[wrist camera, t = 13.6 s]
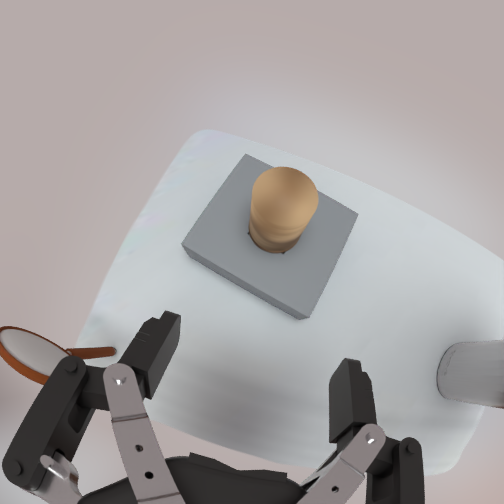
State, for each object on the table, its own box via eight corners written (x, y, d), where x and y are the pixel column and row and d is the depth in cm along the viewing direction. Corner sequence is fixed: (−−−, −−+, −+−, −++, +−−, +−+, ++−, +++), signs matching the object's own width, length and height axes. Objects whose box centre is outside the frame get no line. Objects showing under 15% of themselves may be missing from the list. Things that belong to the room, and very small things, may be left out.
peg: (300, 234, 37) (328, 186, 24) (279, 272, 35) (301, 239, 23) (261, 213, 37) (271, 156, 25) (238, 249, 36) (238, 204, 23)
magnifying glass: (144, 361, 31) (45, 382, 12) (139, 372, 31) (41, 403, 11) (91, 329, 32) (-20, 315, 12) (87, 340, 31) (-25, 333, 12)
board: (344, 228, 37) (358, 214, 32) (299, 319, 33) (309, 317, 29) (244, 174, 39) (245, 153, 34) (188, 256, 35) (181, 243, 30)
